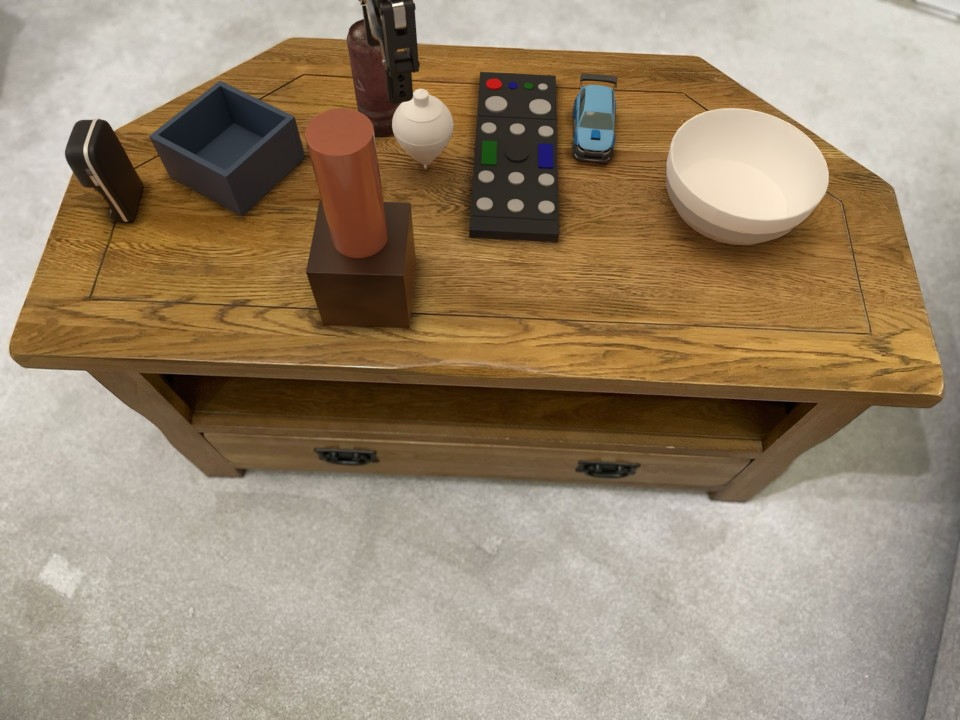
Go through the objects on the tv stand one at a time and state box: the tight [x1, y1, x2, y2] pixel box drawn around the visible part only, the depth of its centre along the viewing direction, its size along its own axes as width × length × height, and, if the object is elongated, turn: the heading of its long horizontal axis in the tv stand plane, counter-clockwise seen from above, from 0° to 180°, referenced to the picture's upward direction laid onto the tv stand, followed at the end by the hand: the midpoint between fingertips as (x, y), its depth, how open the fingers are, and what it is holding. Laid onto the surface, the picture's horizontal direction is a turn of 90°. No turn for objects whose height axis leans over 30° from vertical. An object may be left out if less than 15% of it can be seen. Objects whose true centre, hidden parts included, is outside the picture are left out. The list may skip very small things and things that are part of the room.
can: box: [346, 18, 401, 137], centre depth 87 cm, size 6×6×14 cm
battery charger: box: [64, 118, 144, 223], centre depth 80 cm, size 7×4×11 cm, turn 3°
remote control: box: [468, 71, 560, 243], centre depth 90 cm, size 11×30×2 cm, turn 177°
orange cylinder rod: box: [304, 107, 388, 258], centre depth 64 cm, size 6×6×14 cm
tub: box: [148, 80, 306, 217], centre depth 86 cm, size 13×13×7 cm
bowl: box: [665, 107, 830, 246], centre depth 83 cm, size 19×19×9 cm
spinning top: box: [392, 88, 454, 170], centre depth 84 cm, size 8×8×12 cm
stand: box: [305, 199, 417, 329], centre depth 75 cm, size 10×10×10 cm
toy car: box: [571, 72, 618, 164], centre depth 91 cm, size 6×12×6 cm, turn 174°
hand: (389, 70), depth 62 cm, fingers open, 8 cm apart
